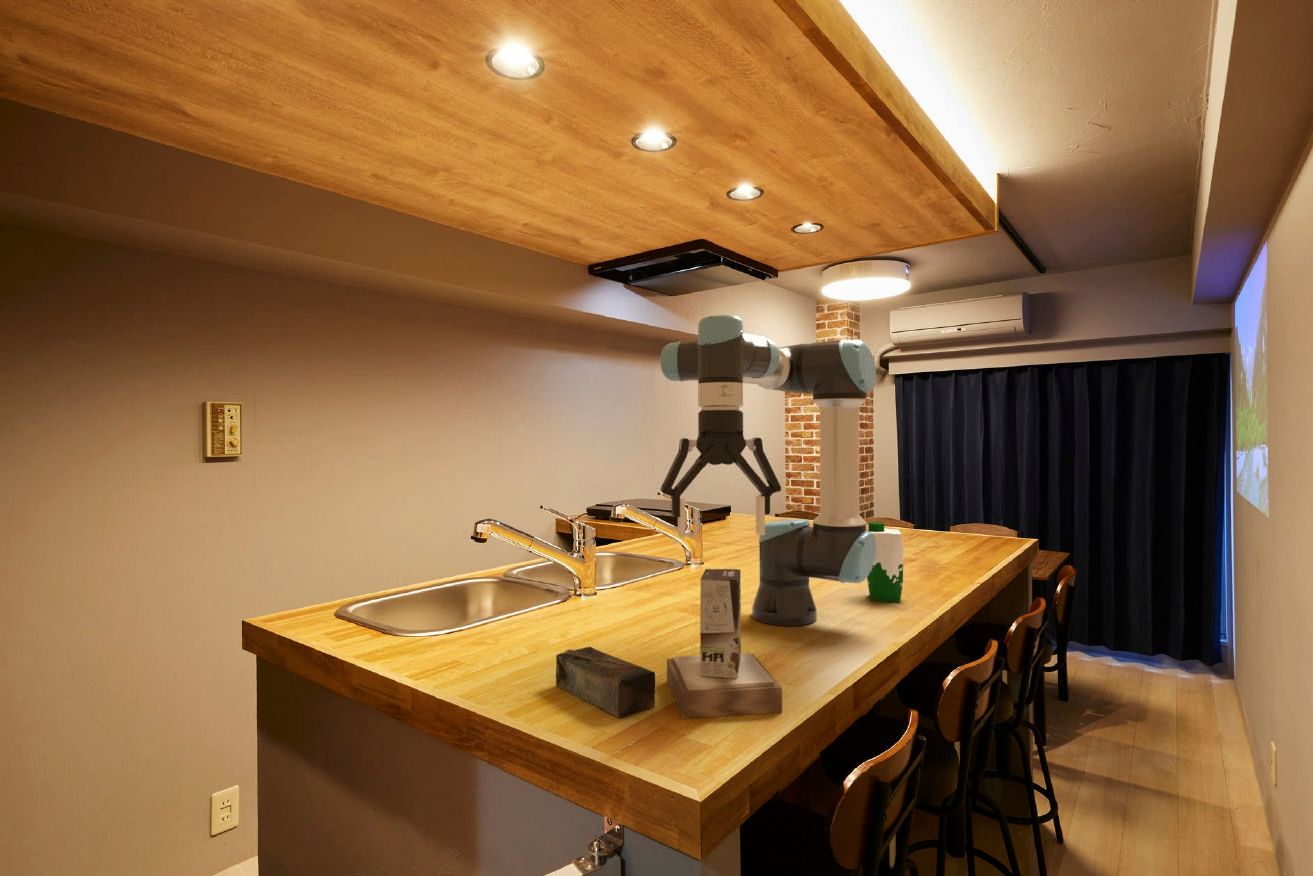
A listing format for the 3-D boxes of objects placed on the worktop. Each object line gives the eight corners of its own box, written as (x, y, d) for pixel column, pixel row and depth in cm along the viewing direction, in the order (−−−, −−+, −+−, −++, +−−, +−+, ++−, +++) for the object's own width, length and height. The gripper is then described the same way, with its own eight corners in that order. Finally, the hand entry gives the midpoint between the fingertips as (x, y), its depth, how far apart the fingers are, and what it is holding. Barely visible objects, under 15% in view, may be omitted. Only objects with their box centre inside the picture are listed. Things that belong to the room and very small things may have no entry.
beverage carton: (590, 676, 124) (590, 641, 124) (658, 708, 110) (658, 669, 110) (554, 687, 119) (554, 650, 119) (620, 722, 105) (620, 680, 105)
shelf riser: (753, 676, 123) (753, 651, 123) (782, 712, 107) (782, 683, 107) (666, 681, 121) (666, 655, 121) (682, 719, 105) (682, 689, 105)
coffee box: (739, 679, 109) (738, 580, 109) (699, 677, 110) (699, 578, 110) (742, 660, 118) (741, 568, 118) (705, 658, 119) (705, 567, 119)
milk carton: (865, 593, 184) (865, 520, 184) (900, 595, 182) (900, 521, 182) (868, 601, 176) (868, 525, 175) (904, 603, 173) (905, 526, 173)
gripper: (649, 408, 108) (650, 541, 108) (799, 408, 112) (800, 536, 112) (644, 410, 116) (645, 533, 116) (784, 409, 119) (785, 529, 119)
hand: (721, 535), depth 114 cm, fingers open, 13 cm apart
